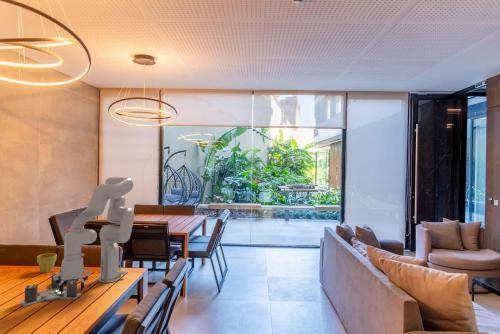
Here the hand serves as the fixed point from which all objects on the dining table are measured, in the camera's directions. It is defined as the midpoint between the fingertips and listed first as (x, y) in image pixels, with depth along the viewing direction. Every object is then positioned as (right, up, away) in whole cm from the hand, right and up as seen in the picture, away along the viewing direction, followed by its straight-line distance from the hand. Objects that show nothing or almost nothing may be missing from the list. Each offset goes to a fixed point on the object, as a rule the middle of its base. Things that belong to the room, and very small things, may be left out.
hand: (71, 290), depth 161 cm
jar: (-13, -3, +21) cm, 25 cm away
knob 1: (-16, -2, -7) cm, 17 cm away
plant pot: (-37, -2, +37) cm, 53 cm away
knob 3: (0, -2, 0) cm, 2 cm away
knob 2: (-14, -2, +10) cm, 18 cm away
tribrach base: (-11, -3, +3) cm, 12 cm away
